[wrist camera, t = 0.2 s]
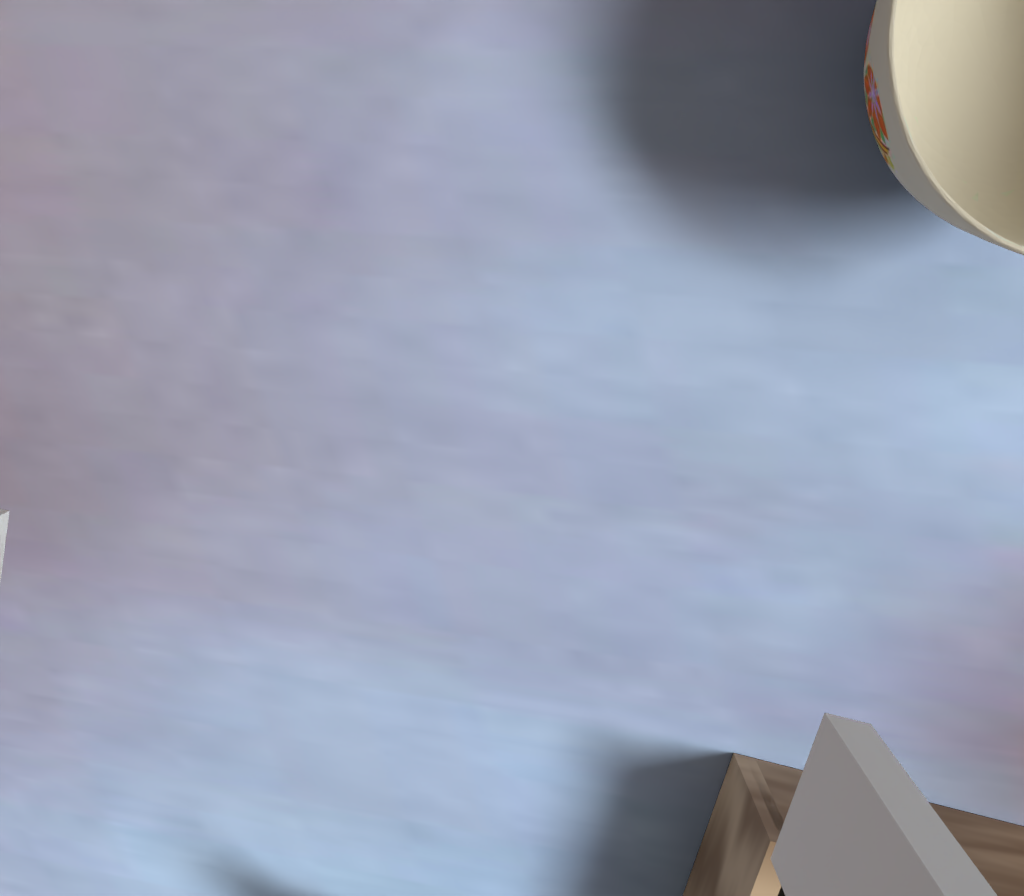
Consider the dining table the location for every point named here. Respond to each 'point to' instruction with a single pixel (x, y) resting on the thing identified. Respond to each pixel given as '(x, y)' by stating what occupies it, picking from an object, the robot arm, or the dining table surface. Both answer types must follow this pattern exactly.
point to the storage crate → (762, 811)
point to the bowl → (952, 108)
